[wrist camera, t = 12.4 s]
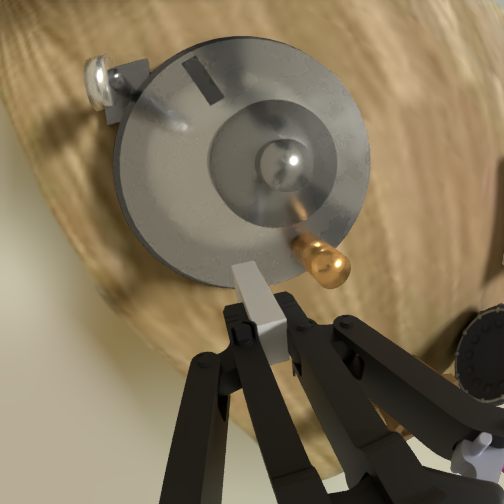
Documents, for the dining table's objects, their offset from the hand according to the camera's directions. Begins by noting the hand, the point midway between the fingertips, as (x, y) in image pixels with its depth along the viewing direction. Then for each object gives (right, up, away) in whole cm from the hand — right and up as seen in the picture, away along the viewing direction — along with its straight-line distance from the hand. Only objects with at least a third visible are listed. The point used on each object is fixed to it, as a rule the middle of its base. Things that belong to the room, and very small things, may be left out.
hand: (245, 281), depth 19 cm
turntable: (+1, +9, +3) cm, 9 cm away
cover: (+1, +9, +1) cm, 9 cm away
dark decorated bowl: (+45, -14, +25) cm, 54 cm away
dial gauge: (-10, +15, 0) cm, 18 cm away
